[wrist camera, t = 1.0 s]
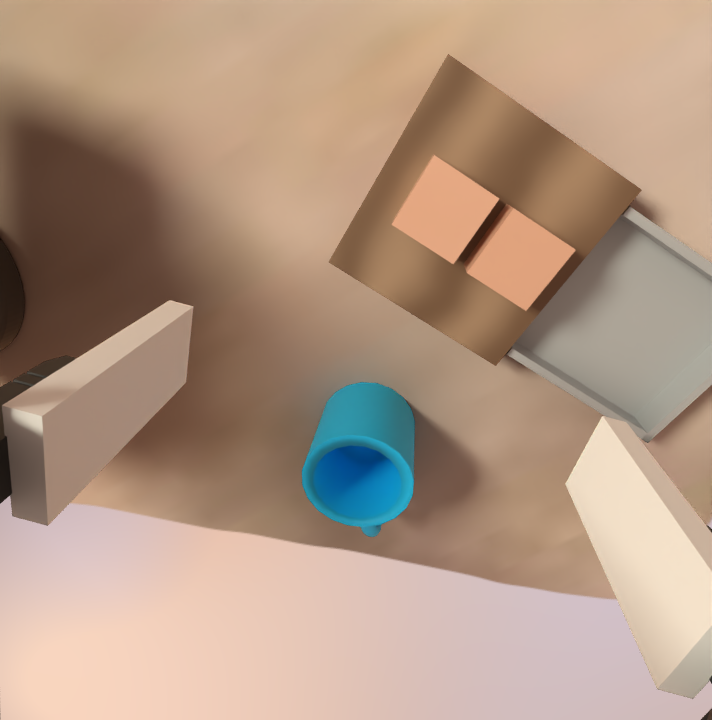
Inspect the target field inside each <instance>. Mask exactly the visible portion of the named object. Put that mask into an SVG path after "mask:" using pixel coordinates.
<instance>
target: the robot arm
mask: <svg viewBox="0 0 712 720" xmlns="http://www.w3.org/2000/svg"><path fill="white" fill-rule="evenodd" d="M23 314H24V294H23V288H22V284H21V280H20V276H19V273H18V271H17V268H16V266H15V263H14V261H13V259H12V257H11V255H10V253H9V252H8V250H7V248H6V247H5V245H4V244H3V242H2V241H1V239H0V351H1V350H2V349H4V348H5V347H6V346H8V345H9V344H10V343H11V342H12V341H13V339H14V338H15V336H16V335H17V333H18V331H19V329H20V326H21V324H22V320H23ZM192 317H193V306H190V305H186V304H182V303H179V302H175V301H171V300H169V301H167V302H166V303H164V304H163V305H161V306H159V307H158V308H156V309H155V310H153V311H151V312H150V313H148V314H147V315H145V316H144V317H142V318H140V319H139V320H137V321H136V322H134V323H132V324H131V325H129V326H128V327H126V328H124V329H123V330H121V331H120V332H118V333H116V334H115V335H113V336H112V337H110V338H108V339H107V340H105V341H104V342H102V343H101V344H99V345H97V346H96V347H94V348H93V349H91V350H89V351H88V352H86V353H85V354H83V355H81V356H80V357H78V358H74V357H70V356H63V357H59V358H56V359H52V360H49V361H45V362H43V363H41V364H39V365H38V366H36V367H34V368H32V369H31V370H29V371H27V374H25V373H24V374H22V375H20V376H19V377H17V378H15V379H14V381H13V382H11V381H10V382H8V383H7V384H5V385H3V386H2V387H0V503H2V502H3V501H4V500H5V499H6V498H7V497H8V496H10V497H11V507H12V516H14V517H17V518H21V519H25V520H29V521H32V522H36V523H40V524H44V525H47V526H48V525H49V524H50V523H51V522H52V521H53V520H54V519H55V518H56V517H57V516H58V514H60V513H61V511H62V510H63V509H64V508H65V507H66V506H67V505H68V504H69V503H70V502H71V501H72V500H73V499H74V498H75V497H76V496H77V495H78V494H79V493H80V492H81V491H82V490H83V489H84V488H85V487H86V486H87V485H88V484H89V483H90V482H91V480H92V479H93V478H94V477H95V476H96V475H97V474H98V473H99V472H100V471H101V470H102V469H103V468H104V467H105V466H106V465H107V464H108V463H109V462H110V461H111V460H112V459H113V458H114V457H115V456H116V455H117V454H118V453H119V451H120V450H121V449H122V448H123V447H124V446H125V445H126V444H127V443H128V442H129V441H130V440H131V439H132V438H133V437H134V436H135V435H136V434H137V433H138V432H139V431H140V430H141V429H142V428H143V427H144V426H145V425H146V424H147V422H148V421H149V420H150V419H151V418H152V417H153V416H154V415H155V414H156V413H157V412H158V411H159V410H160V409H161V408H162V407H163V406H164V405H165V404H166V403H167V402H168V401H169V400H170V399H171V398H172V397H173V396H174V395H175V394H176V392H177V391H178V390H179V389H180V388H181V387H182V386H183V385H184V384H185V383H186V378H187V368H188V358H189V347H190V337H191V327H192ZM565 485H566V487H567V489H568V491H569V493H570V496H571V498H572V500H573V502H574V505H575V507H576V509H577V511H578V514H579V516H580V518H581V520H582V522H583V525H584V527H585V529H586V531H587V534H588V536H589V538H590V540H591V543H592V545H593V547H594V549H595V551H596V554H597V556H598V558H599V560H600V563H601V565H602V567H603V569H604V571H605V574H606V576H607V578H608V580H609V583H610V585H611V587H612V589H613V592H614V594H615V596H616V598H617V600H618V603H619V605H620V607H621V609H622V611H623V614H624V616H625V618H626V620H627V623H628V625H629V627H630V629H631V631H632V634H633V636H634V638H635V641H636V643H637V645H638V647H639V649H640V651H641V654H642V656H643V658H644V661H645V663H646V665H647V667H648V670H649V672H650V673H651V676H652V678H653V681H654V683H655V685H656V687H657V689H658V690H662V691H666V692H670V693H673V694H677V695H681V696H684V697H688V698H692V699H693V698H694V697H695V696H696V695H697V694H698V693H699V692H700V691H701V689H702V688H703V687H704V686H705V685H706V684H707V683H708V682H709V681H711V683H712V529H711V528H710V527H709V526H707V525H705V523H704V522H703V521H702V520H701V518H700V517H699V516H698V514H697V513H696V512H695V510H694V509H693V508H692V507H691V505H690V504H689V503H688V501H687V500H686V499H685V497H684V496H683V495H682V494H681V492H680V491H679V490H678V488H677V487H676V486H675V485H674V483H673V482H672V481H671V479H670V478H669V477H668V475H667V474H666V473H665V472H664V470H663V469H662V468H661V466H660V465H659V464H658V462H657V461H656V460H655V459H654V457H653V456H652V455H651V453H650V452H649V451H648V450H647V448H646V447H645V446H644V444H643V443H642V442H641V440H640V439H639V438H638V437H637V435H636V434H635V433H634V431H633V430H632V429H631V427H630V426H629V425H628V424H627V422H624V421H620V420H616V419H613V418H609V417H605V416H602V418H601V419H600V421H599V423H598V425H597V427H596V429H595V430H594V432H593V434H592V436H591V438H590V440H589V441H588V443H587V445H586V447H585V449H584V451H583V452H582V454H581V456H580V458H579V460H578V462H577V463H576V465H575V467H574V469H573V471H572V473H571V474H570V476H569V478H568V480H567V482H566V484H565ZM701 720H712V709H711V710H710V711H709V712H708V713H707V714H706V715H705V716H704V717H703V718H702V719H701Z"/></svg>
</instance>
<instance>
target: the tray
mask: <svg viewBox="0 0 712 720" xmlns="http://www.w3.org/2000/svg"><path fill="white" fill-rule="evenodd" d="M506 354H507V355H508V356H510V357H511V358H513V359H515V360H516V361H518V362H519V363H521V364H523V365H524V366H526V367H527V368H529V369H531V370H532V371H534V372H535V373H537V374H539V375H540V376H542V377H543V378H545V379H547V380H548V381H550V382H551V383H553V384H555V385H556V386H558V387H559V388H561V389H563V390H564V391H566V392H567V393H569V394H570V395H572V396H574V397H575V398H577V399H578V400H580V401H582V402H583V403H585V404H586V405H588V406H590V407H591V408H593V409H594V410H596V411H598V412H599V413H601V414H602V415H604V416H606V417H609V418H613V419H616V420H620V421H624V422H627V424H628V425H629V426H630V427H631V429H632V430H633V431H634V433H635V434H636V435H637V436H638V437H639V438H641V439H642V440H644V441H646V442H647V443H648V442H649V441H651V440H652V439H653V438H654V437H655V436H656V435H657V434H658V433H659V432H660V431H662V430H663V429H664V428H665V427H666V426H667V425H668V424H669V423H670V422H671V421H672V420H674V419H675V418H676V417H677V416H678V415H679V414H680V413H681V412H682V411H683V410H685V409H686V408H687V407H688V406H689V405H690V404H691V403H692V402H693V401H694V400H696V399H697V398H698V397H699V396H700V395H701V394H702V393H703V392H704V391H705V390H707V389H708V388H709V387H710V386H711V385H712V263H711V262H709V261H708V260H706V259H705V258H704V257H702V256H701V255H699V254H698V253H696V252H695V251H693V250H692V249H691V248H689V247H688V246H686V245H685V244H683V243H682V242H680V241H679V240H678V239H676V238H675V237H673V236H672V235H670V234H669V233H667V232H666V231H665V230H663V229H662V228H660V227H659V226H657V225H656V224H655V223H653V222H652V221H650V220H649V219H647V218H646V217H644V216H643V215H642V214H640V213H639V212H637V211H636V210H634V209H633V208H631V207H630V206H628V207H627V208H626V210H625V211H624V212H623V213H622V214H621V216H620V217H619V218H618V219H617V220H616V222H615V223H614V224H613V225H612V226H611V228H610V229H609V230H608V231H607V232H606V234H605V235H604V236H603V237H602V238H601V240H600V241H599V242H598V243H597V244H596V246H595V247H594V248H593V249H592V251H591V252H590V253H589V254H588V255H587V257H586V258H585V259H584V260H583V261H582V263H581V264H580V265H579V266H578V267H577V269H576V270H575V271H574V272H573V273H572V275H571V276H570V277H569V278H568V279H567V281H566V282H565V283H564V284H563V285H562V287H561V288H560V289H559V290H558V291H557V293H556V294H555V295H554V296H553V297H552V299H551V300H550V301H549V302H548V303H547V305H546V306H545V307H544V308H543V309H542V311H541V312H540V313H539V314H538V316H537V317H536V318H535V319H534V320H533V322H532V323H531V324H530V325H529V326H528V328H527V329H526V330H525V331H524V332H523V334H522V335H521V336H520V337H519V338H518V340H517V341H516V342H515V343H514V344H513V346H512V347H511V348H510V349H509V350H508V352H507V353H506Z"/></svg>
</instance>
